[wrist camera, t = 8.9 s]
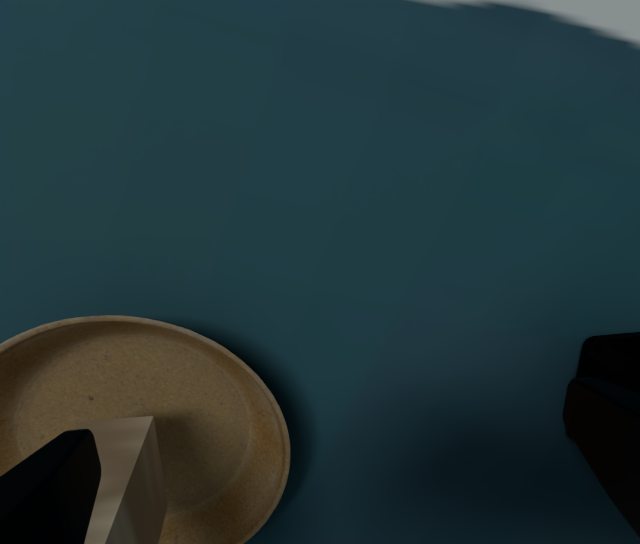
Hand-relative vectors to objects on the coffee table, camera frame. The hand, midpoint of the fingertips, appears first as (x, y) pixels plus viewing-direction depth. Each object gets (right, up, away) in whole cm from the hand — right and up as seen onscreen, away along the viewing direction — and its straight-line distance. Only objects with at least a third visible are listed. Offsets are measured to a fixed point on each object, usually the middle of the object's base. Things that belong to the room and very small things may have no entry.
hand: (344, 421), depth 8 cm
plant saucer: (-9, -5, +14) cm, 18 cm away
